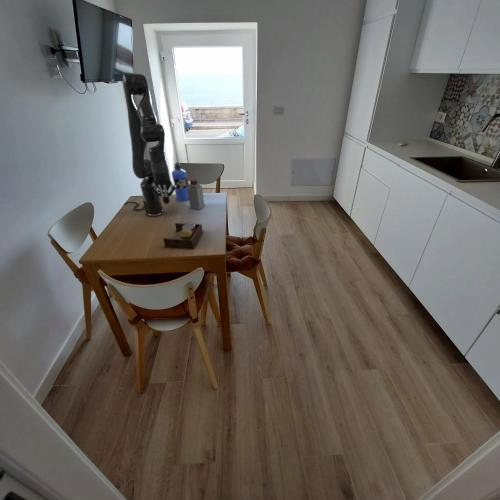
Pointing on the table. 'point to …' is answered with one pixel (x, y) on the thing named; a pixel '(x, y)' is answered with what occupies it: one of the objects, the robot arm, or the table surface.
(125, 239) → the table surface
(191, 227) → the tin can
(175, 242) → the dark brown tray
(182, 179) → the water bottle
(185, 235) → the tea tin
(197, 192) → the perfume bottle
